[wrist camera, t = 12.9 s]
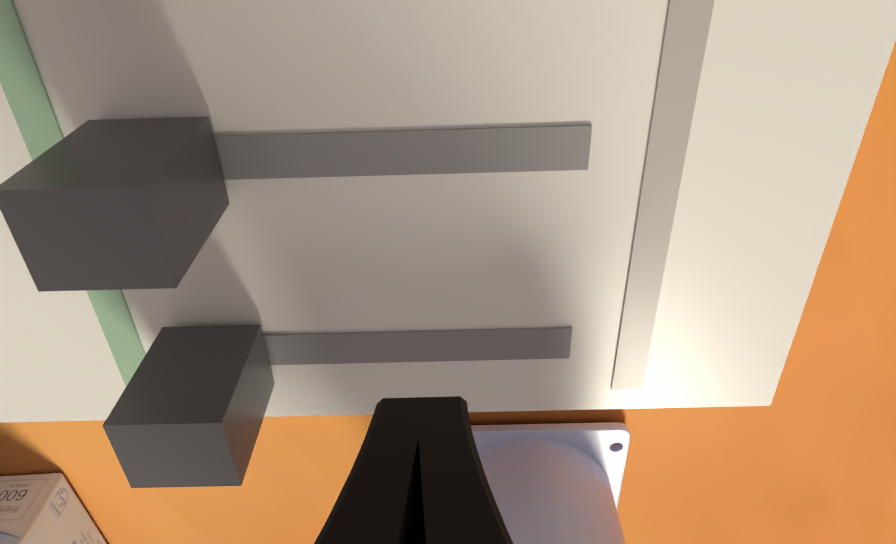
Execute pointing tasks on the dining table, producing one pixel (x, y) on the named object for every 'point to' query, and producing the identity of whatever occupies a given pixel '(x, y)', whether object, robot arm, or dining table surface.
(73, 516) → the light bulb box
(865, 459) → the dining table surface
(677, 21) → the breaker board
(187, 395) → the handle
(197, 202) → the dark gray block
